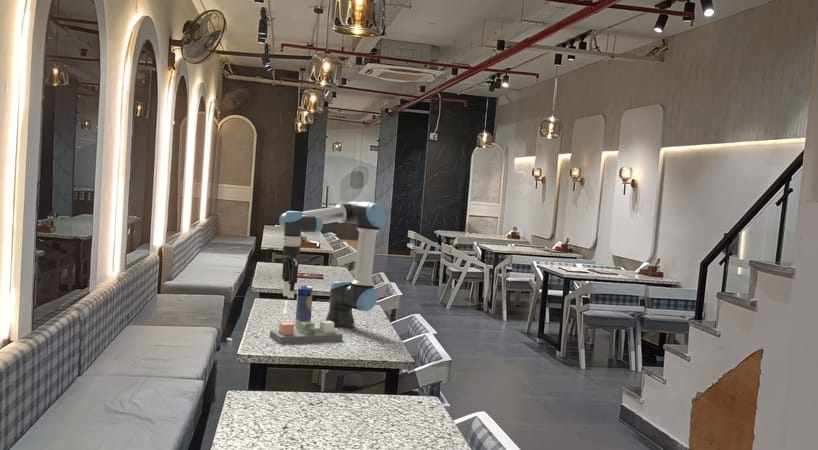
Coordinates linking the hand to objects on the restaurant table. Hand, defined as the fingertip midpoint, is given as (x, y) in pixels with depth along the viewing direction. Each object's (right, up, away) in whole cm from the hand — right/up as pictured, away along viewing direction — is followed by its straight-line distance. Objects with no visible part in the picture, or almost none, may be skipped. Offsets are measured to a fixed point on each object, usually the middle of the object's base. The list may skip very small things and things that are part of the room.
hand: (288, 296), depth 323 cm
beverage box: (+3, -20, +23) cm, 31 cm away
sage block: (+7, -17, +6) cm, 20 cm away
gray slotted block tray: (+7, -21, +6) cm, 23 cm away
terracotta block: (-1, -17, +1) cm, 17 cm away
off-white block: (+16, -18, +11) cm, 26 cm away
